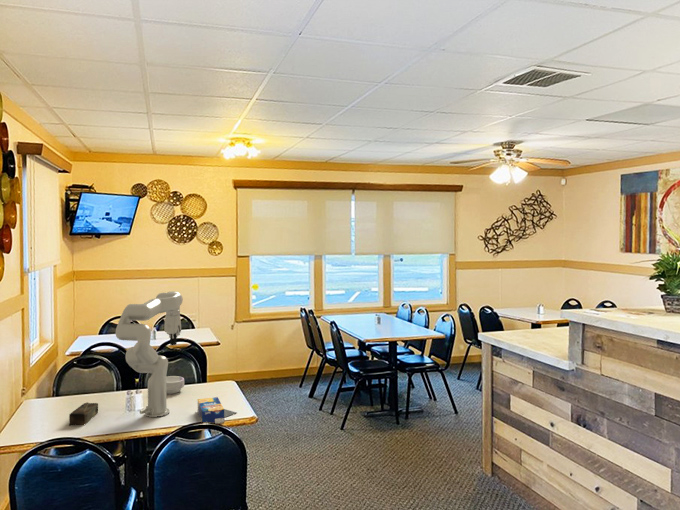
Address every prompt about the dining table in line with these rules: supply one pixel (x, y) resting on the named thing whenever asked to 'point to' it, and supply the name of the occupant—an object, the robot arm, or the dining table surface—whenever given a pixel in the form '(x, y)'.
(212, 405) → the blue rectangular box
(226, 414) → the rubber mat
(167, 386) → the paper bowls
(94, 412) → the dark grey rectangular block
